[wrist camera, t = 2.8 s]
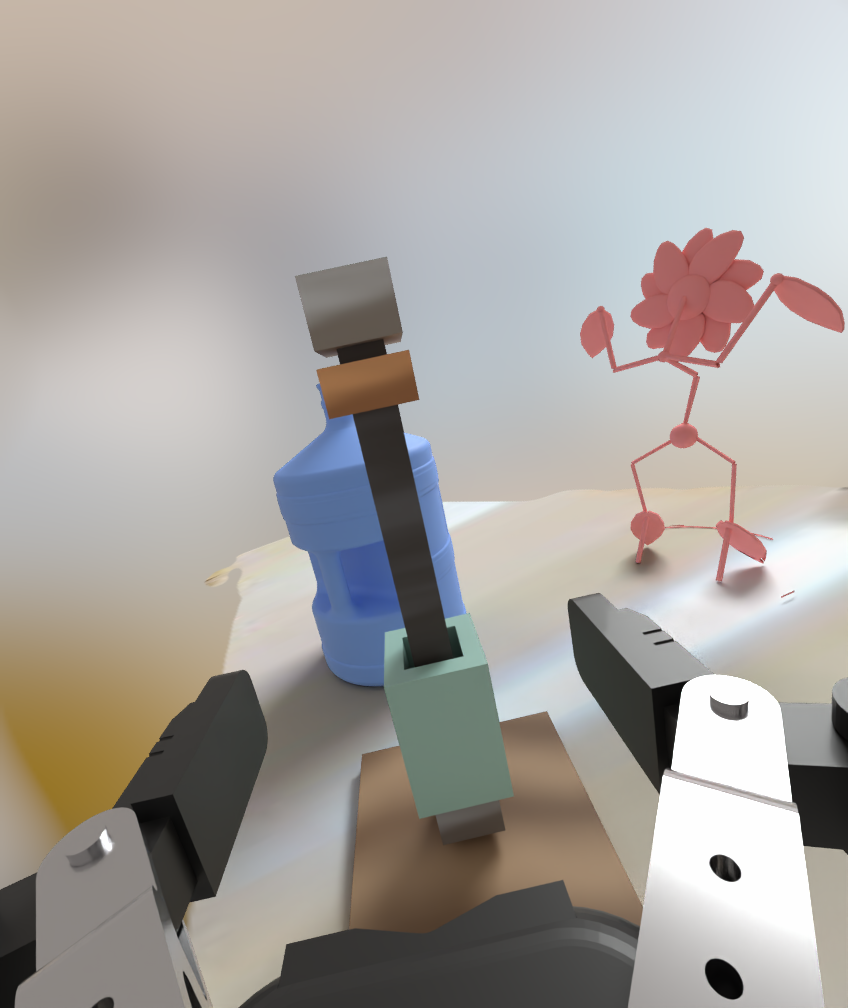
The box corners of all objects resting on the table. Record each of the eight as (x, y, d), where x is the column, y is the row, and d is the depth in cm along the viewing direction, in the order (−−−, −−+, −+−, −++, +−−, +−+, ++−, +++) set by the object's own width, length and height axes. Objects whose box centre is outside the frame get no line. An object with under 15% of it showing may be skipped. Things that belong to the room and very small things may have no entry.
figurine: (818, 609, 40) (828, 159, 32) (576, 553, 61) (544, 276, 53) (874, 550, 48) (894, 175, 39) (642, 518, 69) (623, 272, 61)
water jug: (382, 601, 60) (327, 386, 53) (492, 612, 51) (445, 357, 44) (297, 675, 47) (209, 406, 40) (424, 706, 39) (341, 372, 32)
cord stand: (655, 947, 20) (569, 164, 13) (350, 1021, 20) (67, 269, 12) (549, 724, 34) (476, 281, 26) (365, 767, 34) (236, 332, 26)
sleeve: (513, 796, 23) (487, 663, 21) (419, 818, 23) (383, 687, 21) (492, 726, 28) (469, 613, 26) (414, 744, 28) (384, 632, 26)
